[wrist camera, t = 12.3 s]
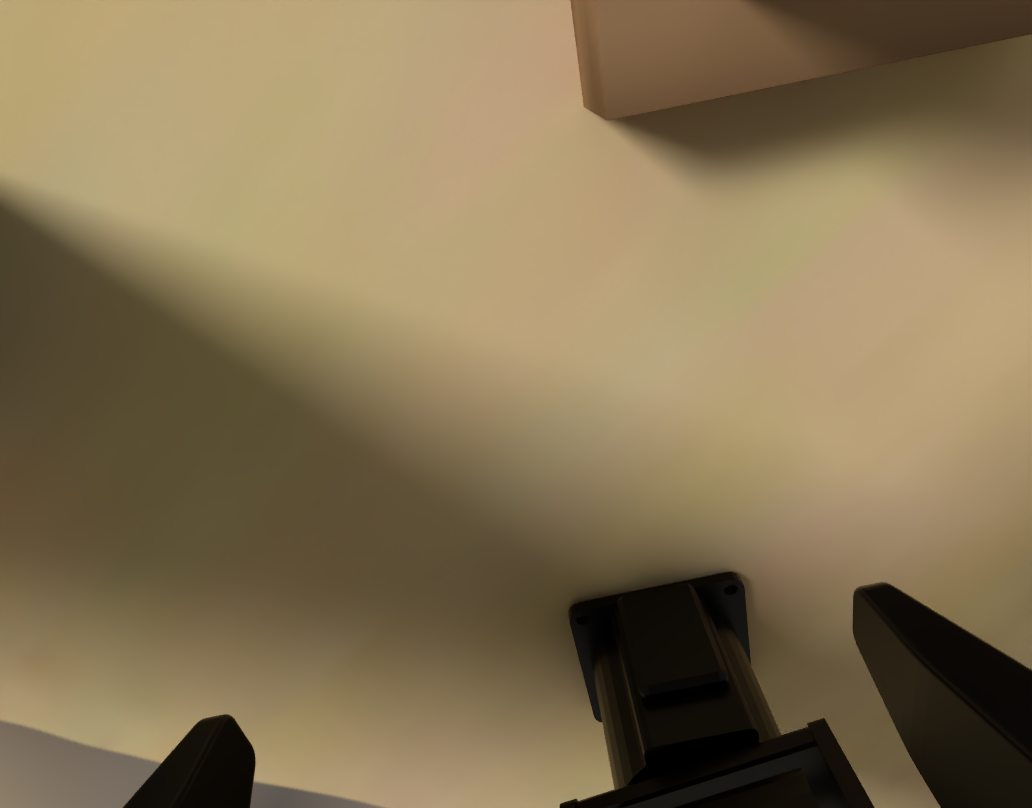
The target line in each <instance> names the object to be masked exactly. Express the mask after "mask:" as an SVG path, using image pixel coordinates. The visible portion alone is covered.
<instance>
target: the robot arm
mask: <svg viewBox="0 0 1032 808" xmlns="http://www.w3.org/2000/svg"><path fill="white" fill-rule="evenodd" d="M729 585H732V586H730V587H726V586H729ZM568 615H569V621H570V626H571V629H572V633H573V637H574V641H575V645H576V649H577V652H578V656H579V660H580V664H581V668H582V672H583V675H584V679H585V683H586V687H587V691H588V695H589V698H590V702H591V706H592V710H593V714H594V717H595V719H596V720H597V721H599V722H602V723H603V729H604V734H605V739H606V745H607V750H608V756H609V761H610V767H611V772H612V777H613V783H614V788H615V789H614V790H611V791H608V792H605V793H602V794H599V795H596V796H593V797H590V798H587V799H584V800H581V801H578V800H577V799H573V800H570V801H567V802H564V803H561V804H560V808H874V806H873V804H872V802H871V801H870V799H869V797H868V795H867V794H866V792H865V790H864V788H863V786H862V785H861V783H860V781H859V779H858V777H857V776H856V774H855V772H854V770H853V769H852V767H851V765H850V763H849V761H848V760H847V758H846V756H845V754H844V753H843V751H842V749H841V747H840V745H839V744H838V742H837V740H836V738H835V736H834V735H833V733H832V731H831V729H830V728H829V726H828V724H827V722H826V720H825V719H824V718H823V719H820V720H816V721H813V722H810V723H807V725H808V727H806V728H803V729H800V730H796V731H793V732H790V733H787V734H784V735H781V733H780V731H779V728H778V726H777V724H776V722H775V719H774V717H773V715H772V713H771V710H770V708H769V706H768V703H767V701H766V699H765V697H764V694H763V692H762V690H761V688H760V685H759V683H758V681H757V678H756V676H755V674H754V672H753V669H752V667H751V661H750V649H749V637H748V626H747V614H746V602H745V590H744V585H743V583H742V581H741V579H740V577H739V575H737V574H736V573H733V572H726V573H721V574H716V575H711V576H706V577H701V578H696V579H691V580H686V581H682V582H677V583H672V584H667V585H662V586H657V587H652V588H647V589H642V590H637V591H633V592H628V593H623V594H618V595H613V596H608V597H603V598H598V599H593V600H589V601H584V602H579V603H576V604H574V605H573V606H571V607H570V609H569V611H568ZM581 615H586V616H584V617H578V616H581ZM853 634H854V638H855V641H856V644H857V646H858V649H859V651H860V653H861V655H862V657H863V659H864V661H865V663H866V665H867V668H868V670H869V672H870V674H871V676H872V678H873V680H874V682H875V684H876V686H877V689H878V691H879V693H880V695H881V697H882V699H883V701H884V703H885V705H886V708H887V710H888V712H889V714H890V716H891V718H892V720H893V722H894V724H895V726H896V729H897V731H898V733H899V735H900V737H901V739H902V741H903V743H904V745H905V747H906V749H907V751H908V753H909V755H910V757H911V758H912V760H913V762H914V764H915V765H916V767H917V769H918V770H919V772H920V774H921V776H922V777H923V779H924V780H925V782H926V784H927V785H928V787H929V789H930V790H931V792H932V794H933V795H934V797H935V799H936V800H937V802H938V804H939V805H940V807H941V808H1032V670H1031V669H1029V668H1028V667H1026V666H1024V665H1023V664H1021V663H1019V662H1018V661H1016V660H1015V659H1013V658H1011V657H1010V656H1008V655H1006V654H1005V653H1003V652H1001V651H1000V650H998V649H996V648H995V647H993V646H991V645H990V644H988V643H986V642H985V641H983V640H982V639H980V638H978V637H977V636H975V635H973V634H972V633H970V632H968V631H967V630H965V629H963V628H962V627H960V626H958V625H957V624H955V623H954V622H952V621H950V620H949V619H947V618H945V617H944V616H942V615H940V614H939V613H937V612H935V611H934V610H932V609H930V608H929V607H927V606H925V605H924V604H922V603H921V602H919V601H917V600H916V599H914V598H912V597H911V596H909V595H907V594H906V593H904V592H902V591H901V590H899V589H897V588H896V587H894V586H892V585H891V584H888V583H884V582H881V583H875V584H870V585H865V586H860V587H858V588H856V589H855V591H854V595H853ZM254 772H255V752H254V749H253V747H252V745H251V743H250V742H249V740H248V739H247V737H246V736H245V734H244V733H243V731H242V730H241V728H240V727H239V725H238V724H237V722H236V721H235V719H234V718H233V717H232V716H230V715H228V714H224V715H219V716H214V717H209V718H205V719H202V720H201V721H199V722H198V723H197V724H196V725H195V726H194V727H193V728H192V729H191V730H190V731H189V733H188V734H187V735H186V736H185V737H184V738H183V739H182V741H181V742H180V743H179V744H178V745H177V746H176V747H175V749H174V750H173V751H172V752H171V753H170V754H169V755H168V756H167V758H166V759H165V760H164V761H163V762H162V763H161V764H160V766H159V767H158V768H157V769H156V770H155V771H154V772H153V774H152V775H151V776H150V777H149V778H148V779H147V780H146V782H145V783H144V784H143V785H142V786H141V787H140V788H139V790H138V791H137V792H136V793H135V794H134V795H133V796H132V798H131V799H130V800H129V801H128V802H127V803H126V804H125V805H124V807H123V808H250V804H251V796H252V788H253V780H254Z"/></svg>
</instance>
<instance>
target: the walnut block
mask: <svg viewBox="0 0 1032 808" xmlns="http://www.w3.org/2000/svg"><path fill="white" fill-rule="evenodd" d="M571 8H572V16H573V24H574V32H575V40H576V48H577V56H578V64H579V72H580V80H581V88H582V96H583V104H584V107H585V108H587V109H589V110H590V111H592V112H594V113H596V114H597V115H599V116H601V117H603V118H604V119H606V120H612V119H617V118H622V117H627V116H632V115H637V114H642V113H647V112H651V111H656V110H661V109H666V108H671V107H676V106H681V105H686V104H691V103H696V102H700V101H705V100H710V99H715V98H720V97H725V96H730V95H735V94H740V93H745V92H749V91H754V90H759V89H764V88H769V87H774V86H779V85H784V84H789V83H794V82H799V81H803V80H808V79H813V78H818V77H823V76H828V75H833V74H838V73H843V72H848V71H852V70H857V69H862V68H867V67H872V66H877V65H882V64H887V63H892V62H897V61H902V60H906V59H911V58H916V57H921V56H926V55H931V54H936V53H941V52H946V51H951V50H955V49H960V48H965V47H970V46H975V45H980V44H985V43H990V42H995V41H1000V40H1005V39H1009V38H1014V37H1019V36H1024V35H1029V34H1032V0H571Z"/></svg>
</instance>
